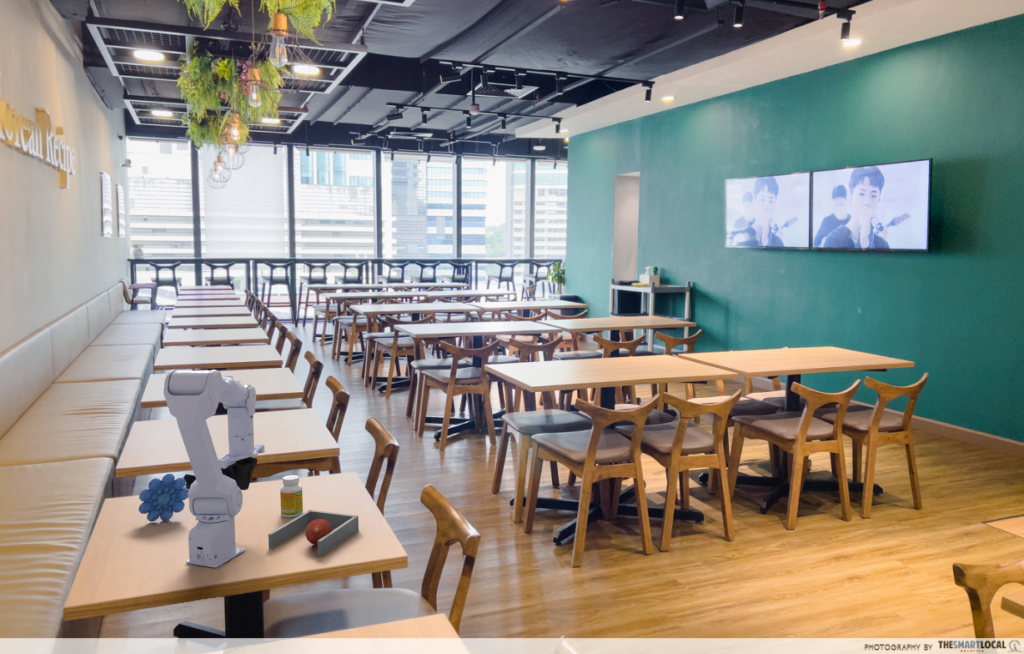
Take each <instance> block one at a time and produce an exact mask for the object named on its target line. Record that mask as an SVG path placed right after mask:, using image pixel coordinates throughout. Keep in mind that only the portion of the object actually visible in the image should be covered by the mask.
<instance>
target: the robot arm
mask: <svg viewBox="0 0 1024 654" xmlns="http://www.w3.org/2000/svg"><path fill="white" fill-rule="evenodd" d="M163 396H164V399H165V402H166V405H167V408H168V410H169V414H170V415H171V416H172V417H174V418H176V423H177V427H178V429H179V433H180V436H181V438H182V441H183V444H184V448H185V451H186V453H187V455H188V456H187V457H188V459H189V462H190V465H191V468H192V471H193V474H194V477H195V480H194V481H193V482H192V483H191V485H190V488H189V489H188V490H189V492H188V498H187V499H188V508H189V511H190V513H191V515H192V516H193V517H195V521H198V522H197V523H196V525H194V527H192V528H191V529H190V531H189V533H188V535H187V536H188V537H187V538H188V540H187V541H188V557H189V559H187V560H186V564H189V565H190V564H192V565H197V566H203V567H208V568H209V567H210V568H218V567H220V566H221V565H223V564H225V563H227V562H228V561H230V560H232V559H233V558H235V557H236V556H238V555H240V554H242V553H243V552H245V551H246V549H245V548H243V547H237V546H236V545H237V544H236V543H237V542H236V524H235V519H236V518H235V516H237V515H238V514H239V512H240V511H241V510H242V506H243V500H244V499H243V491H247V490H248V489H249V487H250V484H251V483H250V482H251V478H252V475H253V471H254V470H255V467H256V465H257V464H258V458H255V457H257V456H258V455H259V454H263V453H265V452H266V451H265V444H261V443H260V444H259V443H257V444H255V433H254V415H255V413H256V404H257V403H256V402H257V391H256V388H255V387H254V386H252V385H251V384H243V383H241V381H240V380H235V379H234V376H232V375H225V376H224V377H222V373H221V371H219V370H217V369H211V370H177V369H171V370H170V371H169V372H168V374H167V375H166V377H165V378H164V384H163ZM219 403H222V406H223V408H224V410H227V412H226V413H227V430H228V431H227V435H228V437H227V438H228V452H227V453H226V454H225V455H223V456H222V457H221V458H218V455H217V451H216V448H215V446H214V442H213V439H212V436H211V433H210V432H211V431H210V429H209V426H208V425H209V424H208V422H207V420H208V419H209V418H211V417H212V416H214V415H216V411H217V409H218V406H219ZM227 468H228V469H229V470H230V472H231V474H232V476H233V478H234V479H233V478H231V477H229V476H227V475H226V474H223V472H222V469H227Z"/></svg>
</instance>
